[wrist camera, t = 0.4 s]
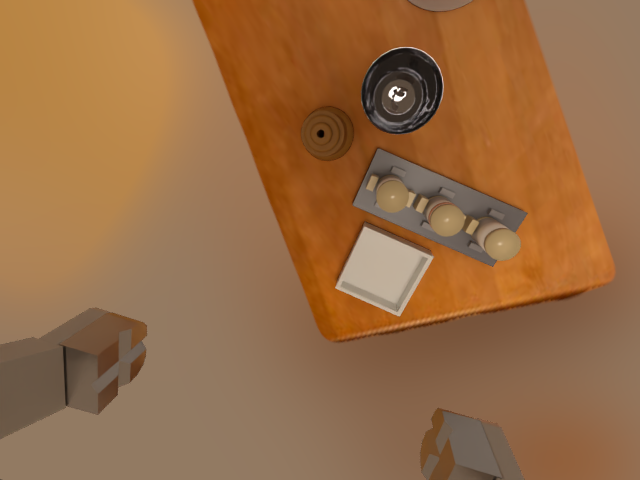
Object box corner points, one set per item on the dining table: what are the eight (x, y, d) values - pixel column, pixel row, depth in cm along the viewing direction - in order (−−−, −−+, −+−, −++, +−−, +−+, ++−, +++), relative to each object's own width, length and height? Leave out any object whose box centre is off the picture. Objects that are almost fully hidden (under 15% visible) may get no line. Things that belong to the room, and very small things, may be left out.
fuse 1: (383, 170, 48) (384, 175, 41) (408, 181, 48) (414, 188, 41) (371, 195, 50) (371, 205, 42) (396, 206, 49) (399, 217, 42)
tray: (364, 221, 52) (364, 226, 50) (430, 250, 52) (433, 256, 49) (337, 280, 56) (335, 288, 53) (398, 307, 56) (399, 316, 53)
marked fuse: (430, 190, 48) (440, 199, 41) (457, 201, 48) (471, 213, 41) (417, 215, 49) (424, 228, 42) (442, 227, 49) (454, 242, 42)
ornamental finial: (311, 101, 48) (360, 115, 48) (298, 152, 51) (345, 166, 50) (299, 94, 41) (357, 111, 40) (285, 155, 43) (340, 171, 43)
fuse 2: (478, 211, 48) (497, 224, 41) (504, 223, 48) (527, 238, 41) (464, 236, 49) (479, 252, 42) (489, 247, 49) (509, 265, 42)
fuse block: (377, 148, 49) (378, 149, 45) (523, 210, 48) (537, 218, 44) (353, 203, 52) (351, 209, 48) (489, 263, 51) (500, 274, 47)
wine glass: (379, 145, 49) (381, 148, 35) (355, 94, 47) (347, 75, 33) (431, 118, 47) (456, 109, 32) (408, 63, 45) (423, 29, 31)
